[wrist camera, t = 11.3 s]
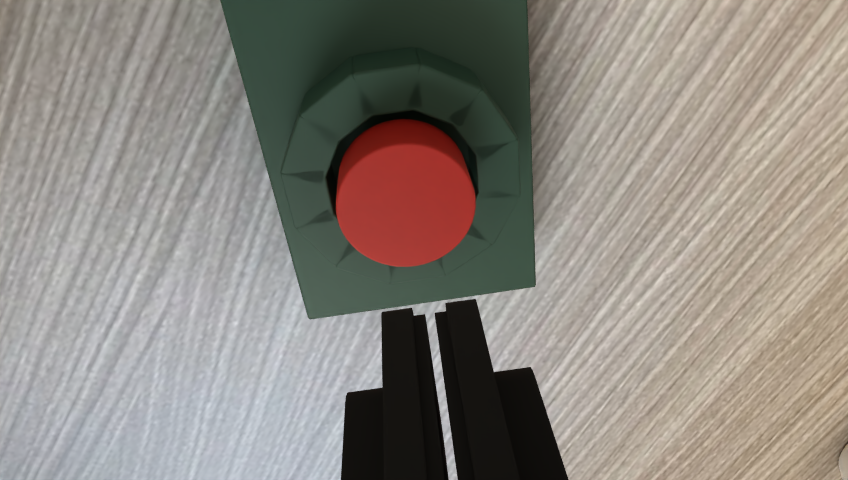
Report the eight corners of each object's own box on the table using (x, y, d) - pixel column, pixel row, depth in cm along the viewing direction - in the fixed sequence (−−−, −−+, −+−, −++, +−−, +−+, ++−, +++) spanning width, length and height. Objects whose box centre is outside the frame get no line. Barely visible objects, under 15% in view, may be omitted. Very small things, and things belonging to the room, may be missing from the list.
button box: (231, -29, 17) (198, -5, 14) (509, -68, 18) (543, -54, 14) (313, 284, 23) (303, 355, 20) (522, 254, 23) (549, 319, 20)
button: (326, 128, 16) (322, 154, 15) (460, 109, 16) (470, 133, 15) (350, 243, 18) (349, 276, 17) (471, 225, 18) (481, 257, 17)
